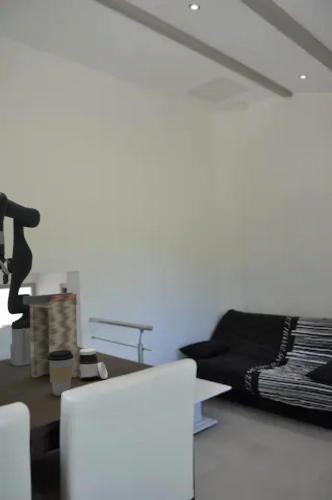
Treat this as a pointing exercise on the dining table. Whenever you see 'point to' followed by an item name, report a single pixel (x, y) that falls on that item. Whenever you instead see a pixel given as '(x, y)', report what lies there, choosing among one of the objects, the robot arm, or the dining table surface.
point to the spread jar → (90, 365)
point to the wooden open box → (53, 332)
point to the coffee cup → (60, 370)
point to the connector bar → (40, 298)
